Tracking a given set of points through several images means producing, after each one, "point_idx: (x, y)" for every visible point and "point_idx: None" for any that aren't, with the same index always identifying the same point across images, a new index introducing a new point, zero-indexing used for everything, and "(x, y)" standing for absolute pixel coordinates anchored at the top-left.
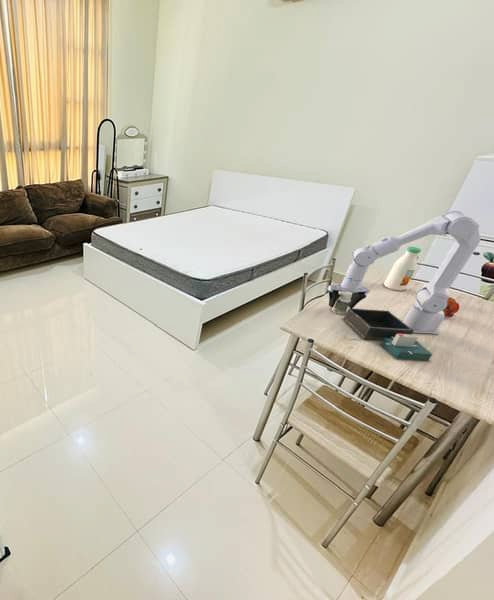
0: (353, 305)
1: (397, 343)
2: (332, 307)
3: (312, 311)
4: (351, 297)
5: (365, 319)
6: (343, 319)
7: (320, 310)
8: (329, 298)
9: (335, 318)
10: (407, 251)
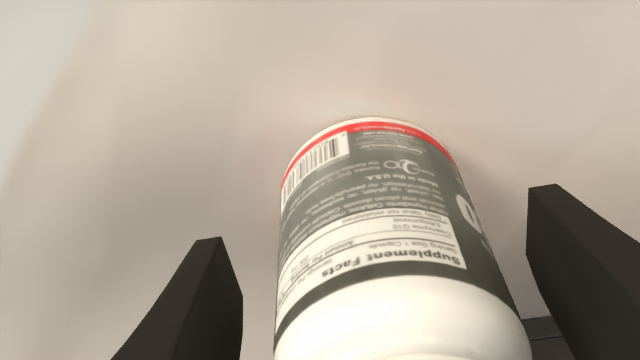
0: (559, 322)
1: None
2: (237, 299)
3: (9, 276)
4: (625, 300)
5: None
6: None
7: (116, 224)
8: (137, 334)
9: (269, 345)
10: None
